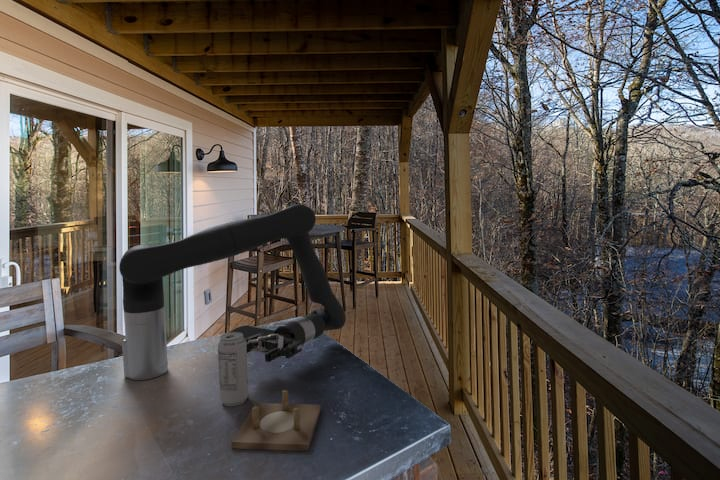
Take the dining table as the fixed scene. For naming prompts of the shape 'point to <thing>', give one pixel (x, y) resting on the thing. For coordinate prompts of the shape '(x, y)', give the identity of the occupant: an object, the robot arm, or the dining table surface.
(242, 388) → the energy drink can
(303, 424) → the pin base
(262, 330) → the black sponge
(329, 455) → the dining table surface
